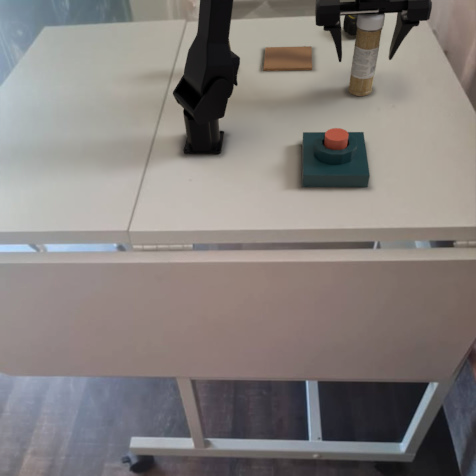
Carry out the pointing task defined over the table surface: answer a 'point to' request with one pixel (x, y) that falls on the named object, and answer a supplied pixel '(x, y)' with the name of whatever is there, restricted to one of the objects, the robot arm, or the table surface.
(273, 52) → the coaster
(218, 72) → the robot arm
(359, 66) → the sprinkles bottle
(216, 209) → the table surface
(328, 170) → the teal push button base
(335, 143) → the red button cap
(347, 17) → the tape measure
